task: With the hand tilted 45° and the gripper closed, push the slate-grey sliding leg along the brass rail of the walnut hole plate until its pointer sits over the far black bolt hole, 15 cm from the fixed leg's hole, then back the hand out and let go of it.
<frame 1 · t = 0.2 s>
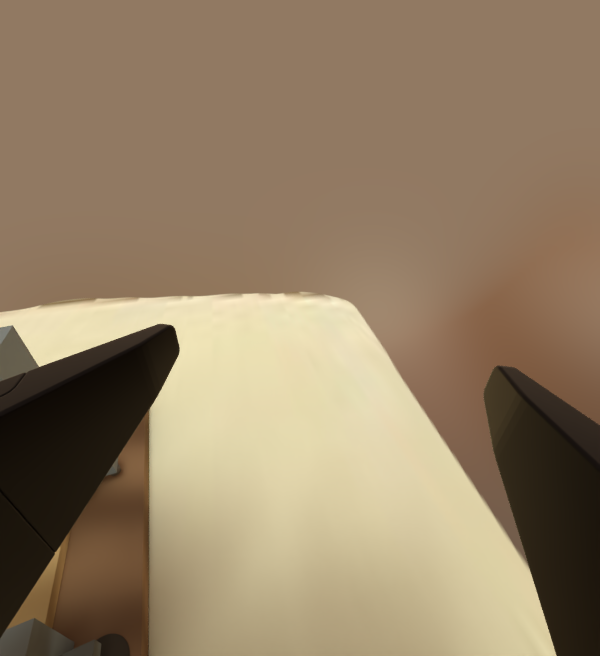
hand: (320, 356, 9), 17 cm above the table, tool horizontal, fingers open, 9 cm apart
sliding leg: (32, 428, 18), point 7 cm above the table, slide at 0.0 cm
hole plate: (64, 535, 20), on the table
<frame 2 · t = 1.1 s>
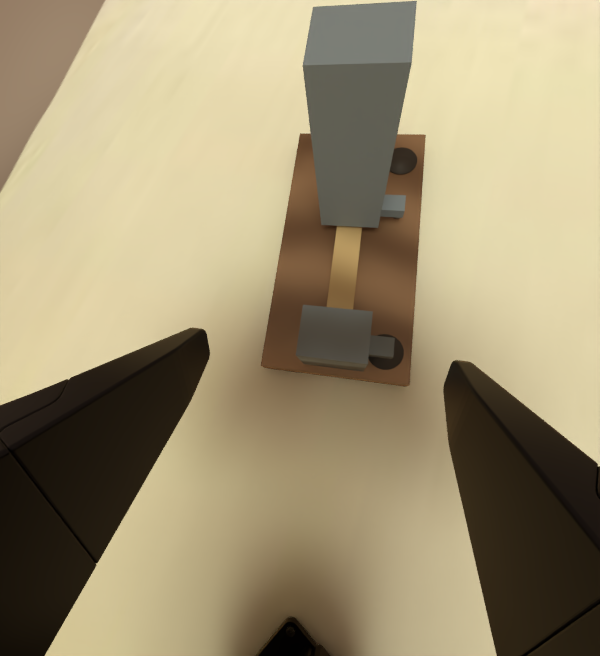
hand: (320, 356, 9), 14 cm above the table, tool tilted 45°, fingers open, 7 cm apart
sliding leg: (369, 151, 17), point 8 cm above the table, slide at 0.0 cm
hole plate: (347, 251, 24), on the table
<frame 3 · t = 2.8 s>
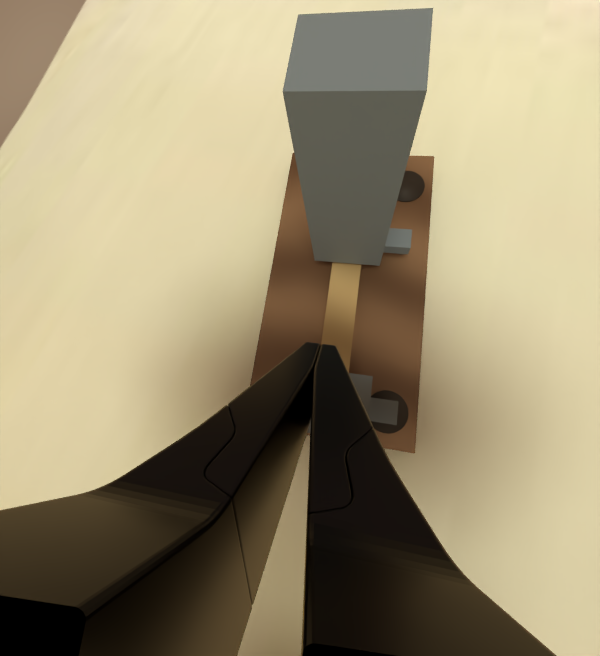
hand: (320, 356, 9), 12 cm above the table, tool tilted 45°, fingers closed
sliding leg: (369, 185, 15), point 8 cm above the table, slide at 0.0 cm
hole plate: (344, 287, 21), on the table
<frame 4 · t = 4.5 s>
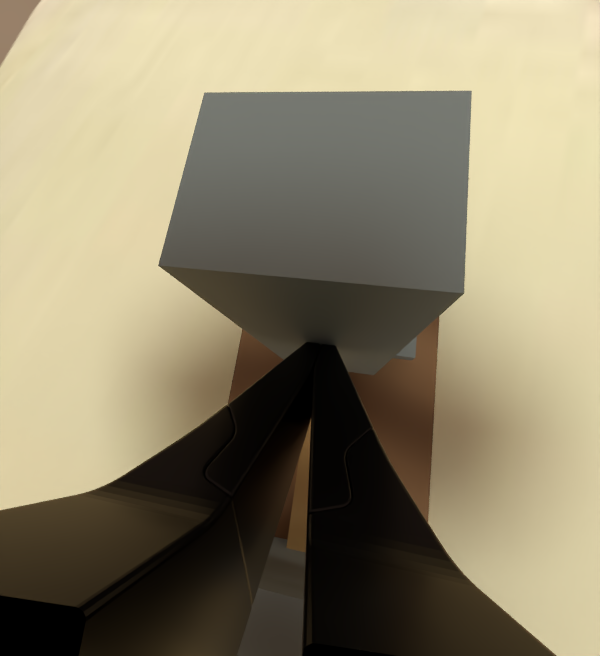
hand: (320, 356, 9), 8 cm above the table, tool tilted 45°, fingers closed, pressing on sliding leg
sliding leg: (356, 307, 10), point 8 cm above the table, slide at 0.8 cm, touching gripper
hole plate: (328, 403, 17), on the table
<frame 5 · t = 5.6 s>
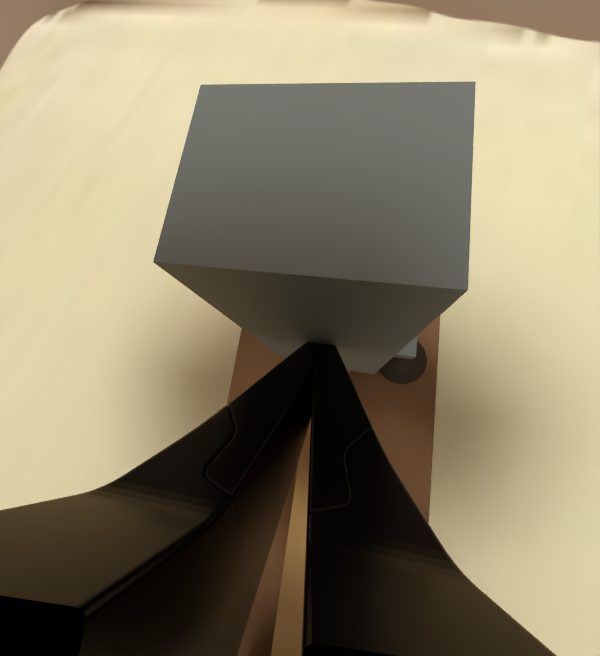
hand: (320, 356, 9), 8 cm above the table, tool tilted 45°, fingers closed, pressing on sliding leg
sliding leg: (356, 306, 10), point 7 cm above the table, slide at 5.5 cm, touching gripper
hole plate: (315, 498, 15), on the table
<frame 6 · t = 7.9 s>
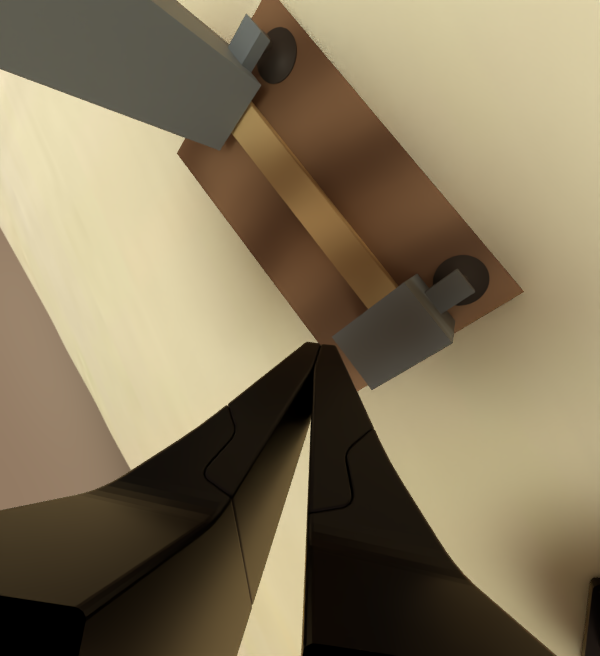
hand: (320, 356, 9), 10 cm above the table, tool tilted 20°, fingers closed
sliding leg: (146, 28, 12), point 8 cm above the table, slide at 5.5 cm
hole plate: (324, 210, 18), on the table
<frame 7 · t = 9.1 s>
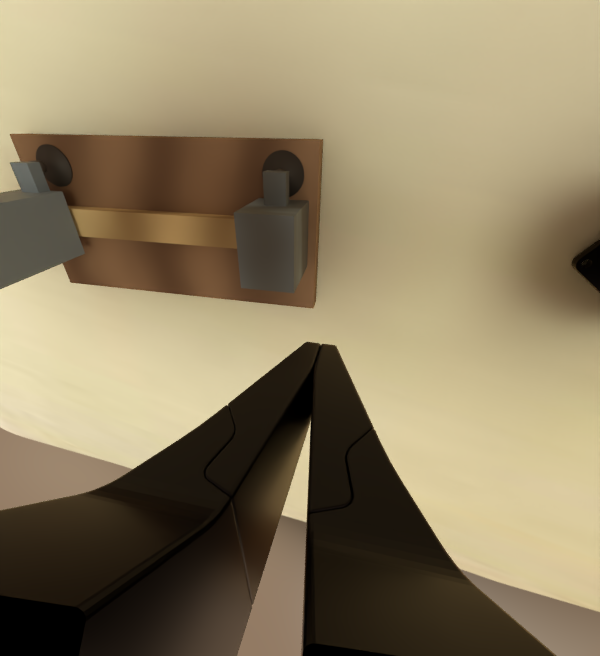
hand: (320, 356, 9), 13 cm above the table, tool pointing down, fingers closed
hole plate: (179, 221, 21), on the table
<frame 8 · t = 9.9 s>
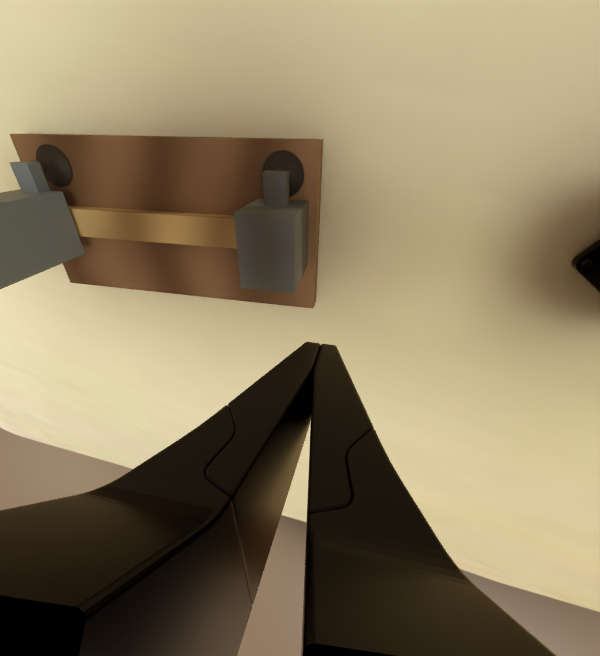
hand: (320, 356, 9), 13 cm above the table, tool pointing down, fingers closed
hole plate: (179, 221, 21), on the table
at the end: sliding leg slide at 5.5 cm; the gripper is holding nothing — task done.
